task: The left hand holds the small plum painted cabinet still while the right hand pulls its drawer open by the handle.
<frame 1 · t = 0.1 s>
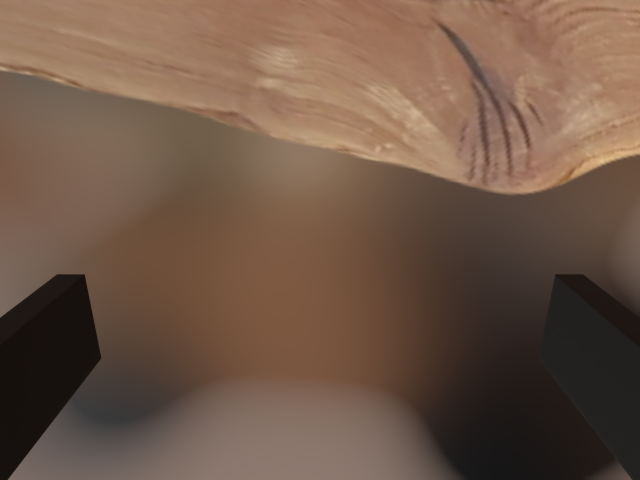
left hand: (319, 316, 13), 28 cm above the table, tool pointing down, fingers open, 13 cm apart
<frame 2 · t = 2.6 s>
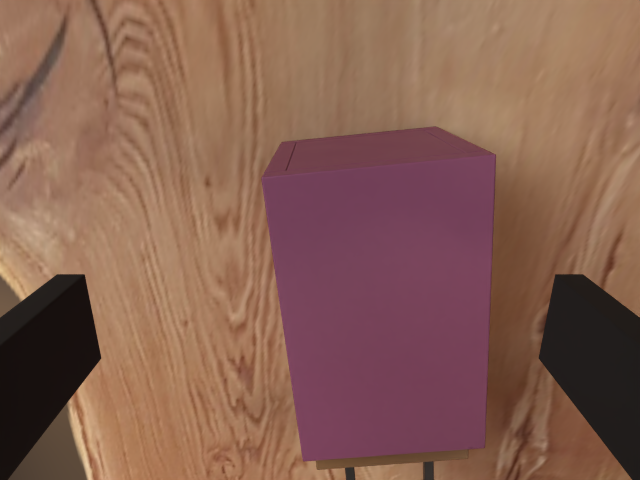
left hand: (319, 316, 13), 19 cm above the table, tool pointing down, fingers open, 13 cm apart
cabinet: (366, 249, 32), on the table
drawer: (379, 354, 29), point 5 cm above the table, slide at 0.6 cm
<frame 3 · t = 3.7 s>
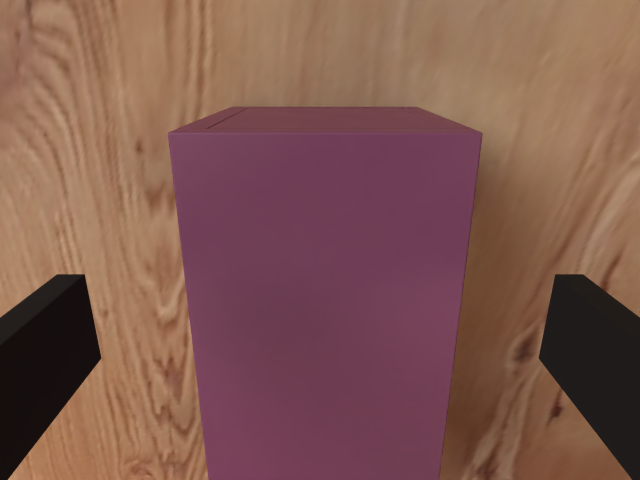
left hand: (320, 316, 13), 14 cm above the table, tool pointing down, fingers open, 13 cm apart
cabinet: (323, 246, 28), on the table
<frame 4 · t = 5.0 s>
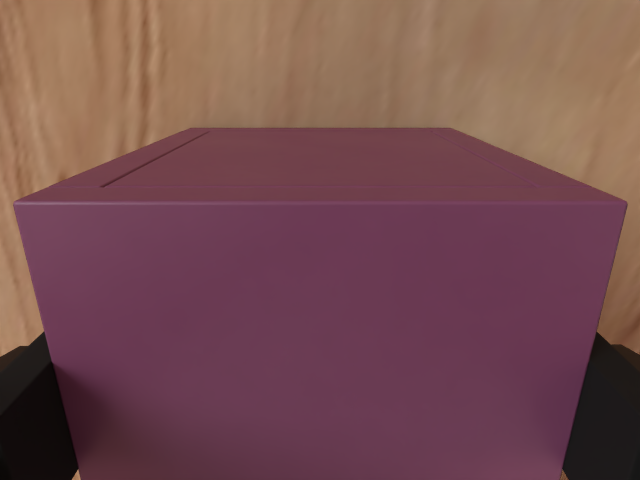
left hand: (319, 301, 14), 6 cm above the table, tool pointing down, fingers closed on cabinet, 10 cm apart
cabinet: (320, 313, 20), on the table, touching left hand
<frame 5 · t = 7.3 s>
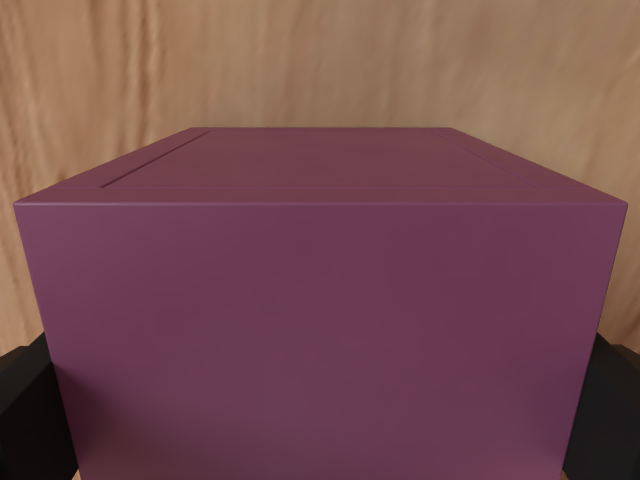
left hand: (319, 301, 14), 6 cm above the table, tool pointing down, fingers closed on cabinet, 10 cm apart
cabinet: (320, 313, 20), on the table, touching left hand
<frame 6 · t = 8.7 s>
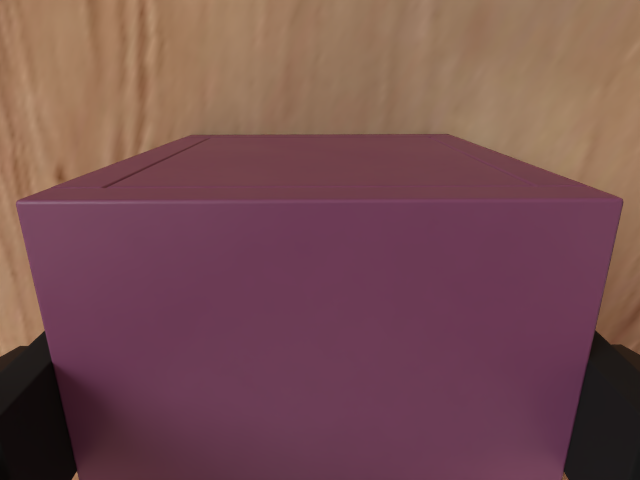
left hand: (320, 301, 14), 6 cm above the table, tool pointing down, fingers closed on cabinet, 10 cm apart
cabinet: (320, 319, 20), on the table, touching left hand
when the left hand's fingers open (6 cm above the table, at t = 9.9 s): cabinet stays where it is, on the table.
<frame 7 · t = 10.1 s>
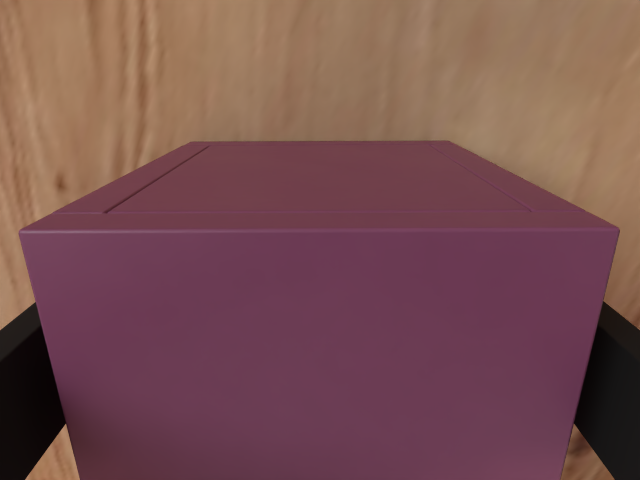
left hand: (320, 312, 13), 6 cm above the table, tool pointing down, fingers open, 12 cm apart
cabinet: (320, 323, 21), on the table
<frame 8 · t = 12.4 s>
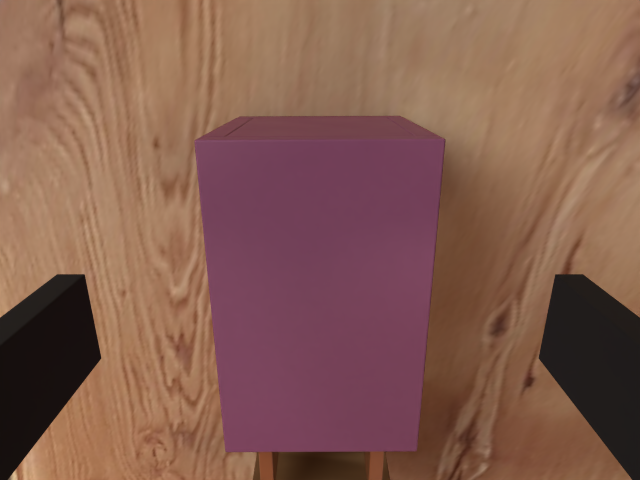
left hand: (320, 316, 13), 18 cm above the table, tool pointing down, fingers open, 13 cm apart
cabinet: (320, 238, 31), on the table
drawer: (321, 417, 30), point 5 cm above the table, slide at 6.1 cm
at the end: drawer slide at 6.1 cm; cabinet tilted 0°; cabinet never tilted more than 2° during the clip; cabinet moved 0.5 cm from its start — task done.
